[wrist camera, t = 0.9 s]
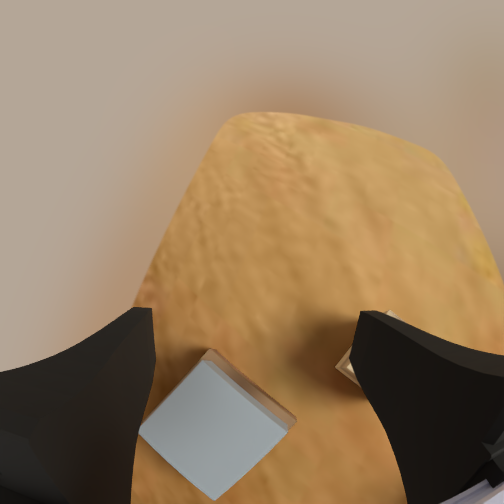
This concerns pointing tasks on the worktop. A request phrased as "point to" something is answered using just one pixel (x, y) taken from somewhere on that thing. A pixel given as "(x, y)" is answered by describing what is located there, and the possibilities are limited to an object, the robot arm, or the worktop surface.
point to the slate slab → (212, 430)
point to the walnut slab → (243, 383)
